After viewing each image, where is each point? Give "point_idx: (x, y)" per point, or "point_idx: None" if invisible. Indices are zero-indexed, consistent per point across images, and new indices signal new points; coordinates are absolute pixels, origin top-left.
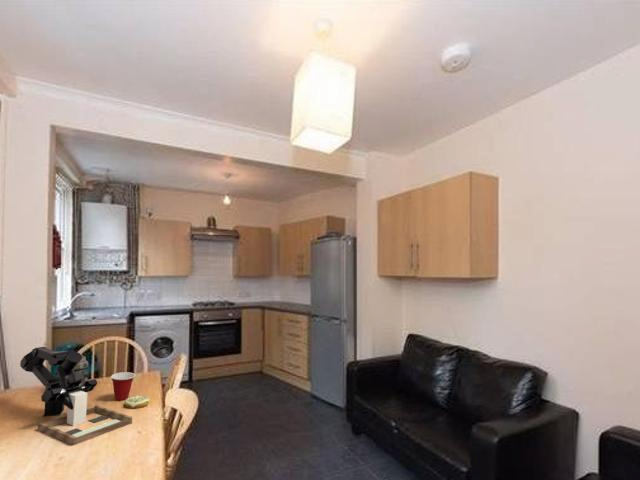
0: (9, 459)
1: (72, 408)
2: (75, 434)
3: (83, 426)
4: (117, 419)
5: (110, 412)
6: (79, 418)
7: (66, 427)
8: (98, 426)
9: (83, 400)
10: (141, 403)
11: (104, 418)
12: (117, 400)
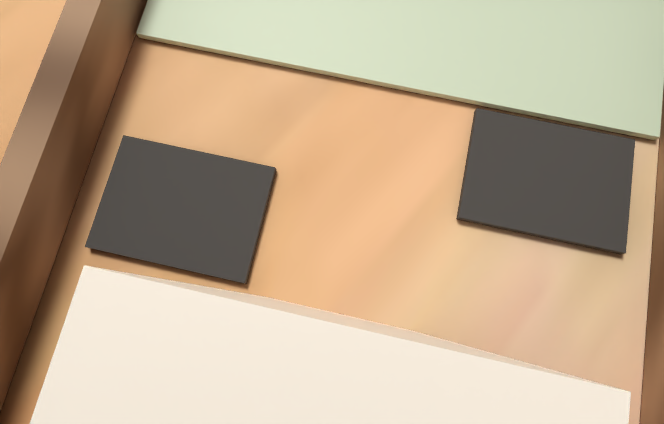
0: None
1: None
2: (565, 96)
3: (378, 207)
4: (144, 12)
5: (65, 118)
6: (345, 315)
7: None
8: (343, 47)
9: (279, 305)
10: None
11: (154, 153)
12: None
